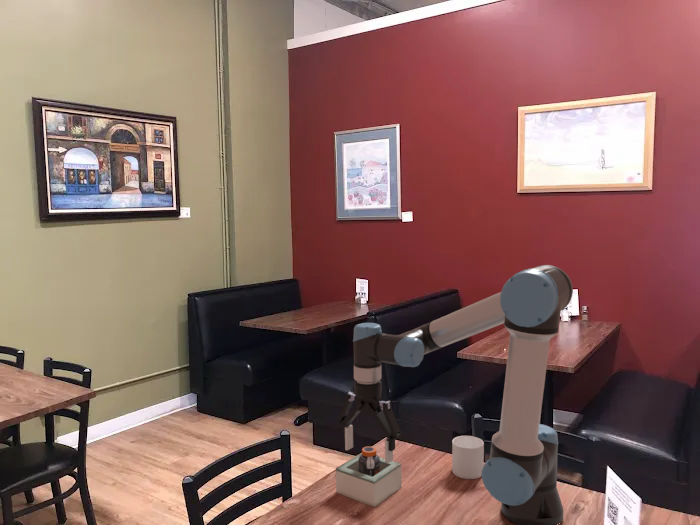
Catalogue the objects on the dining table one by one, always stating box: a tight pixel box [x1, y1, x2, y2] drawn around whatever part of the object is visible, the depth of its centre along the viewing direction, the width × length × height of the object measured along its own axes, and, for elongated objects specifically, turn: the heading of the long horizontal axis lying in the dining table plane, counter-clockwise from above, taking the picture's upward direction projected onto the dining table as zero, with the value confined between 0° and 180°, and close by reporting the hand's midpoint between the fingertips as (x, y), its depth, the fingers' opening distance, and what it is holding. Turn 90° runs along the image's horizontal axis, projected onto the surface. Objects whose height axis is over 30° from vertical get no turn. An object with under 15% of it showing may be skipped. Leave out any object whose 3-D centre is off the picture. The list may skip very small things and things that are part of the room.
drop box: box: [335, 452, 402, 508], centre depth 159 cm, size 13×13×7 cm
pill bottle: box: [359, 446, 380, 477], centre depth 159 cm, size 6×6×11 cm
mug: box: [451, 435, 485, 480], centre depth 170 cm, size 12×9×9 cm
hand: (368, 454), depth 159 cm, fingers open, 13 cm apart
